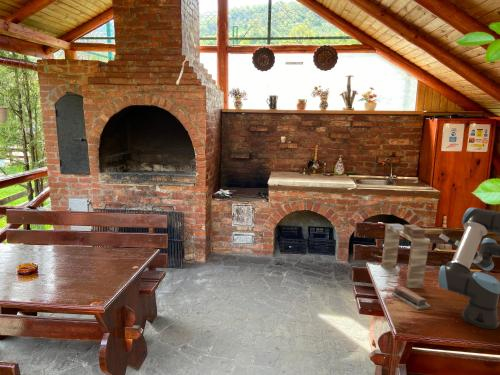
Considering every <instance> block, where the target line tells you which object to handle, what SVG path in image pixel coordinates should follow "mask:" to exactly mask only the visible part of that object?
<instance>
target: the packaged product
mask: <svg viewBox="0 0 500 375" xmlns="http://www.w3.org/2000/svg"><path fill="white" fill-rule="evenodd" d="M393 295H394V296H393ZM391 296H393V297H395V296H396V297H395V298H397V299H398V300H400V301H401V300H402V301H401V302H403V303H404V304H406V305H408V306H409V307H411V308H413V309H416V311H418V310H419V311H420V310H423V309H427V308H430V307H431V305H430V304H428V303H427V299H426V298H424V297H422V296H420V295H419V294H417V293H415V292H413V291H412V290H410V289H409V288H408V287H407V288H406V287H404V286H397V287H395V288H394V291H393V292H391Z"/></svg>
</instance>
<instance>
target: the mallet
mask: <svg viewBox="0 0 500 375" xmlns="http://www.w3.org/2000/svg"><path fill="white" fill-rule="evenodd" d="M403 226H404V230H403V233H405V234H407V235H408V236H410V237H412V238H424V237H425V235H441V234H444V229H443V228H422V227H420V226H419V225H416V224H403Z"/></svg>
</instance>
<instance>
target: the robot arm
mask: <svg viewBox="0 0 500 375" xmlns="http://www.w3.org/2000/svg"><path fill="white" fill-rule="evenodd" d="M461 224H462V227H463V229H464V231H463V234H462V237H461V238H460V241H459V240H456V241H454V240H453V239H451V238H449V237H448V236H447V235H445V234H444V233H443V234H439V238H440V239H442V240H443V241H444V242H445V243H447V244H449V245H451V246H453V248H456V250H455V252H454V255H453V257H452V260H451V261H448V262H447V263H446V265H441V266H440V268H439V271H438V285H439V287H440V288H442V289H444V290H446V291H449V292H452V293H455V294H459V295H460V296H461V295H462V296H464V297H467V298H468V302H467V304H466V305H465V307H464V309H463V310H462V314H461V318H462V319H463V320H464V321H465V322H466V323H468V324H471V326H474V327H476V328H477V327H478V328H480V329H481V328H482V329H484V330H485V329H486V330H496V329H497V328H498V327H499V318H498V313H497V309H498V303H499V298H500V281H499V279H497V278H495V277H494V276H492V275H490V274H487V273H484V272H479V271H478V272H476V271H475V272H473V273H472V270H471V269H470V268H471V266H472V263H473V264H475V266H477V267H479V268H480V269H482V270H484V271H487V272H488V271H491V270H493V269H494V266H495V263H494V261H493V259H492V258H493V256H495V257H498V258H500V244H498V243H497V241H496V240H495V239H492V238H489V237H486V238H483V236H486V235H487V234H488V232H489V233H495V234H498V235H499V236H500V211H495V210H489V209H483V208H479V207H469V208H468V209H466V211H465V212H464V214H463V217H462V220H461ZM482 239H483V240H482ZM481 240H482V242H481ZM480 243H481V244H480ZM479 246H480V248H479ZM478 249H479V250H478Z"/></svg>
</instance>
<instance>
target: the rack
mask: <svg viewBox="0 0 500 375" xmlns="http://www.w3.org/2000/svg"><path fill="white" fill-rule="evenodd" d="M403 230H404V225H402V224H400V223H385V230H384V238H383V250H382V256H381V264H380V267H381V268H383V269H394V268H397V260H398V253H399V247H400V246H399V245H400V237H403V238H404V239H406V240H408V241H409V242H411V243H410V251H409V259H408V267H407V272H406V273H407V274H406V281H405V286H406V287H407V289H412V288H413V289H417V288H419V289H421V288H423V287H424V286H423V285H424V280H425V273H426V266H427V260H428V252H429V251H428V250H429V245H430V242H431V239H430V238H428V237H427V236H424V238H412V237H410V236H408V235H407V234H405V233H403Z"/></svg>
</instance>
